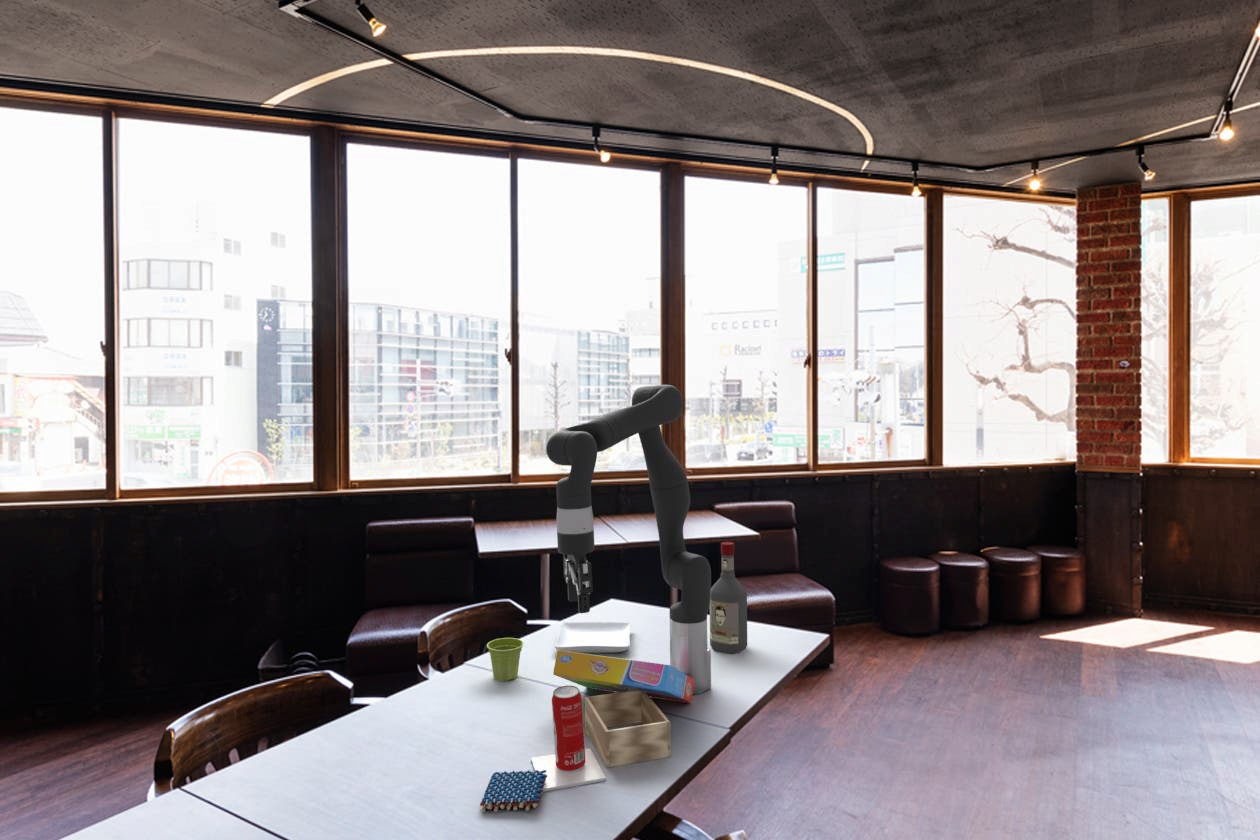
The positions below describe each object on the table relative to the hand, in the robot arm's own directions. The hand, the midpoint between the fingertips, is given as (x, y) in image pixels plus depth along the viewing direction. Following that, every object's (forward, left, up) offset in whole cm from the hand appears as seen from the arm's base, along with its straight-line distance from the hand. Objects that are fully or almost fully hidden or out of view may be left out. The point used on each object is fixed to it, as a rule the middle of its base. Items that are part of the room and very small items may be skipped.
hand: (578, 606), depth 148 cm
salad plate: (-18, -59, -29) cm, 68 cm away
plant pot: (+10, -42, -29) cm, 52 cm away
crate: (-9, +2, -29) cm, 30 cm away
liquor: (-53, -42, -29) cm, 74 cm away
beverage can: (+4, +9, -28) cm, 30 cm away
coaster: (+5, +9, -29) cm, 31 cm away
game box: (-3, -23, -22) cm, 31 cm away
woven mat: (+16, +15, -29) cm, 36 cm away
